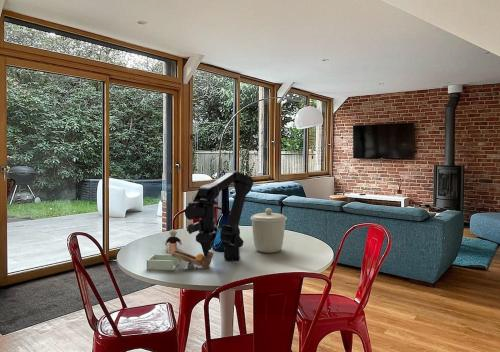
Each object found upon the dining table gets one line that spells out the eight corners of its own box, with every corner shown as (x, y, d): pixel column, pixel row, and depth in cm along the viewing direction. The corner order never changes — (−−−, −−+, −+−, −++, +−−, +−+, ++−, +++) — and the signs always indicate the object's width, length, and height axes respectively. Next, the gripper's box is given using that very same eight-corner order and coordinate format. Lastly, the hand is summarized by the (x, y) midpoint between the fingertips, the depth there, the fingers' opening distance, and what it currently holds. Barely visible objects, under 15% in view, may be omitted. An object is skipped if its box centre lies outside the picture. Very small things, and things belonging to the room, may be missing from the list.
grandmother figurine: (165, 257, 171) (165, 230, 171) (164, 255, 175) (164, 228, 174) (182, 256, 174) (182, 229, 173) (181, 254, 177) (181, 228, 176)
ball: (204, 261, 159) (205, 253, 158) (202, 263, 155) (203, 255, 155) (196, 259, 159) (197, 251, 159) (194, 262, 155) (195, 254, 155)
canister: (243, 252, 181) (243, 209, 180) (260, 244, 197) (260, 204, 196) (277, 257, 173) (278, 212, 171) (292, 248, 189) (292, 207, 187)
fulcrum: (198, 265, 161) (198, 260, 160) (195, 270, 154) (195, 264, 154) (186, 264, 161) (186, 259, 161) (183, 269, 155) (183, 264, 154)
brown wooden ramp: (209, 266, 160) (213, 252, 159) (207, 269, 154) (211, 256, 154) (174, 253, 160) (178, 240, 160) (171, 257, 155) (175, 243, 155)
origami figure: (182, 251, 183) (182, 241, 183) (164, 252, 181) (164, 242, 181) (180, 245, 195) (180, 235, 194) (164, 246, 193) (164, 236, 192)
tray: (178, 263, 162) (178, 254, 162) (172, 270, 154) (172, 260, 153) (153, 263, 163) (153, 254, 163) (146, 269, 154) (146, 260, 154)
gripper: (193, 212, 165) (193, 246, 167) (182, 220, 147) (183, 259, 148) (218, 212, 165) (218, 247, 166) (210, 220, 146) (211, 259, 147)
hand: (207, 252), depth 157 cm, fingers open, 9 cm apart
